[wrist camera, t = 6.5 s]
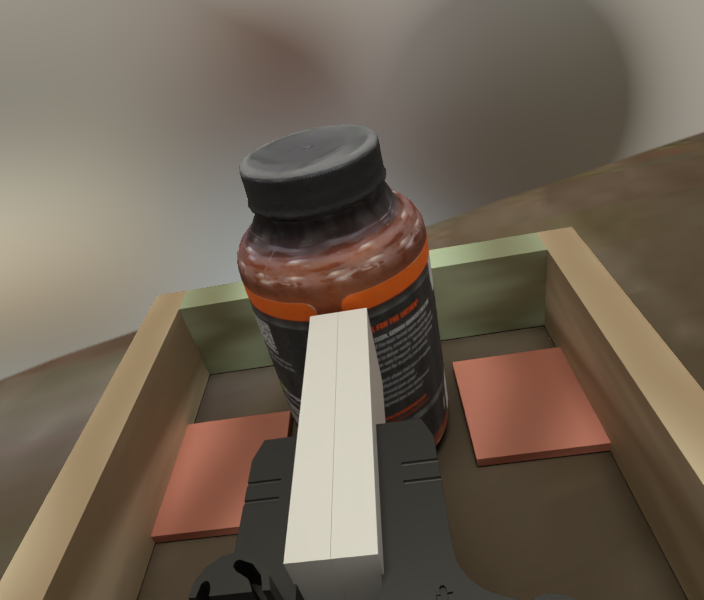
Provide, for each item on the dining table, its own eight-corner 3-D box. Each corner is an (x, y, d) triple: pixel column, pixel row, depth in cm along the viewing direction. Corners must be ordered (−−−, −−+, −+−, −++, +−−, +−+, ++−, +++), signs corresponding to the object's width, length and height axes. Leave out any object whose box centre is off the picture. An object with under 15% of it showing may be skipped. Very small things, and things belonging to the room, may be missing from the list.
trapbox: (25, 777, 13) (-80, 725, 11) (188, 358, 26) (157, 295, 24) (828, 724, 11) (909, 647, 9) (566, 301, 24) (571, 226, 22)
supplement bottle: (469, 384, 21) (447, 105, 15) (419, 509, 17) (359, 196, 10) (343, 360, 24) (279, 116, 17) (274, 461, 20) (156, 190, 13)
